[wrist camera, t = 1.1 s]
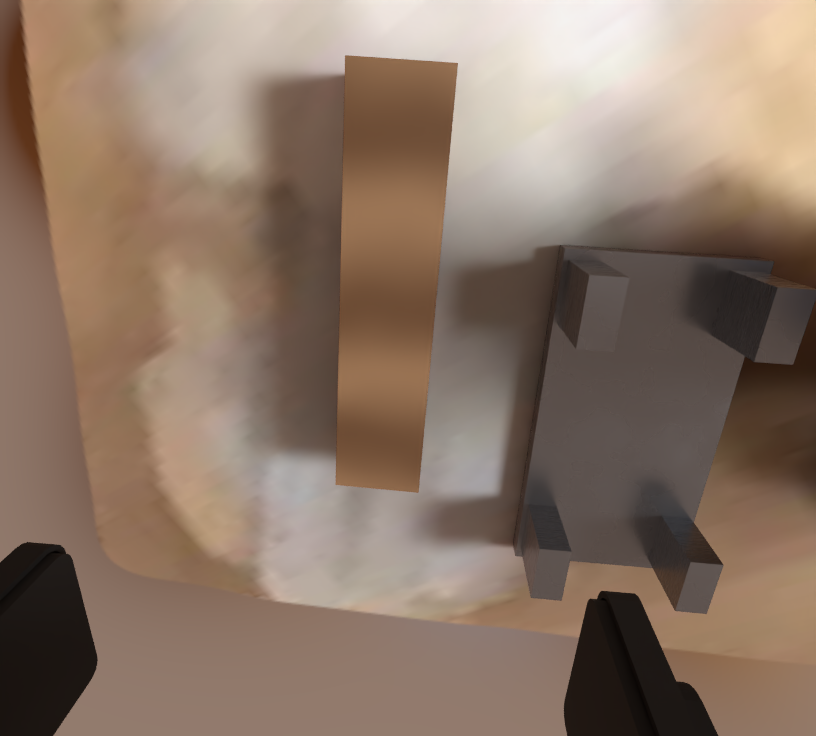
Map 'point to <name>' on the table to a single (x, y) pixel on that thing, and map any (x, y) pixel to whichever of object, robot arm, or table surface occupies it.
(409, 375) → the rail
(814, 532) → the table surface
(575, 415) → the cradle
